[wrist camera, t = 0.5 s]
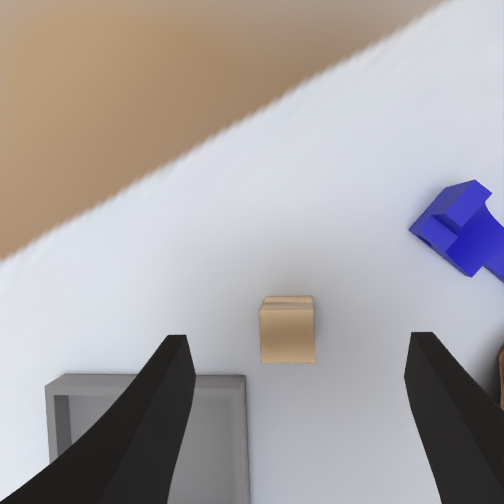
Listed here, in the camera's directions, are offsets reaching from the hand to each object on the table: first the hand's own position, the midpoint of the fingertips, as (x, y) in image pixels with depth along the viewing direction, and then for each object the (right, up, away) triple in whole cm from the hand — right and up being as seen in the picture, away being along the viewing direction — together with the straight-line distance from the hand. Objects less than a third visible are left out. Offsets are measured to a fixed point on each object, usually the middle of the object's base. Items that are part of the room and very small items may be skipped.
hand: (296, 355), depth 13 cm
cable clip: (+18, +3, +21) cm, 27 cm away
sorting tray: (-11, -15, +25) cm, 31 cm away
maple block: (+2, -3, +23) cm, 23 cm away
